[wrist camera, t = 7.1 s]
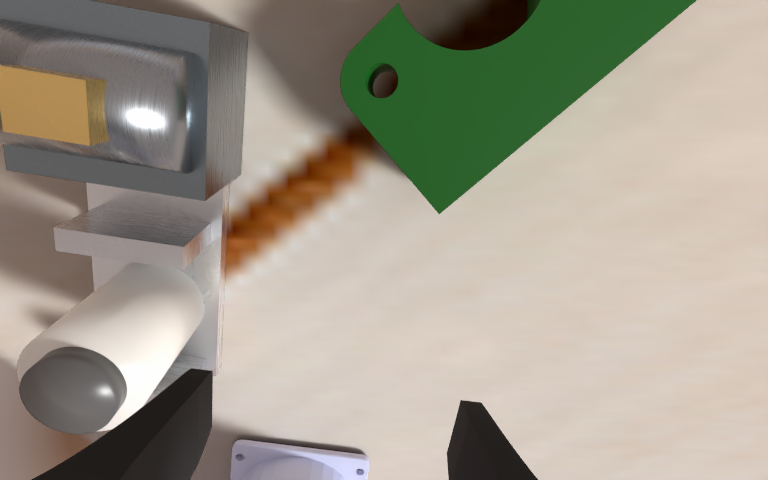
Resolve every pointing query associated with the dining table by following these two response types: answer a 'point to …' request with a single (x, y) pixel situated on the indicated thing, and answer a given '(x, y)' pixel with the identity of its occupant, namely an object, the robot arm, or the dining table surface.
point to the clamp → (488, 85)
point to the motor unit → (131, 138)
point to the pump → (109, 350)
